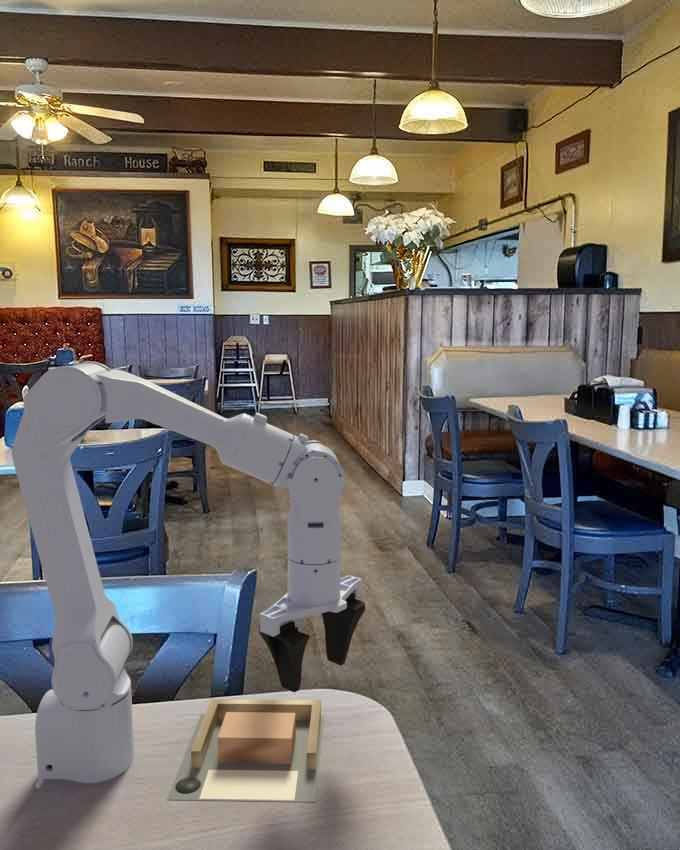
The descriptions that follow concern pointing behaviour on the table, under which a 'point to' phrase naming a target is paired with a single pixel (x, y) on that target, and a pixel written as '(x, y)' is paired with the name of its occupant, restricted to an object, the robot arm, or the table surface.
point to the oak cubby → (221, 706)
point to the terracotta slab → (257, 738)
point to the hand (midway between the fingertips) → (314, 674)
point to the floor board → (248, 774)
